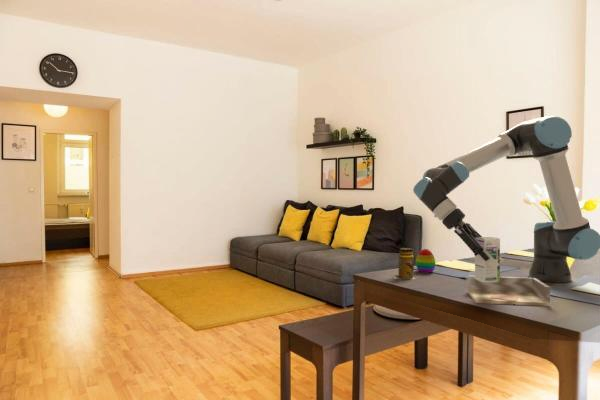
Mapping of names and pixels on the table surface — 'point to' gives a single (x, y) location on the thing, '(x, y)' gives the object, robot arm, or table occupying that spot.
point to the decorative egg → (425, 261)
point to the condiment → (405, 264)
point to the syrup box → (481, 268)
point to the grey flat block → (510, 291)
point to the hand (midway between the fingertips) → (498, 265)
